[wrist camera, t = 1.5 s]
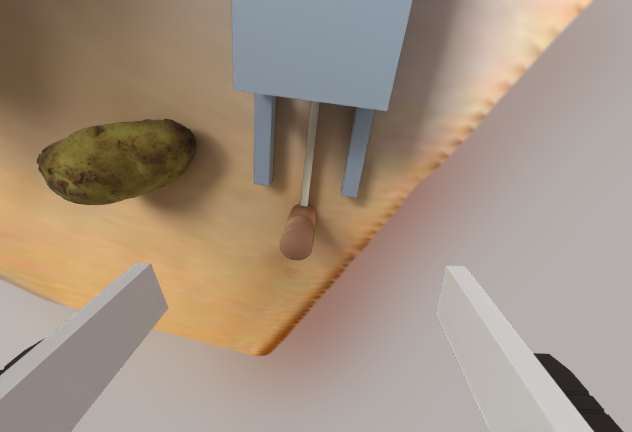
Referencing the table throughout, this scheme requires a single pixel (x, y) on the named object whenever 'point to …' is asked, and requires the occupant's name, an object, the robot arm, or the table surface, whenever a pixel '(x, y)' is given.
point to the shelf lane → (317, 65)
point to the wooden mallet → (303, 204)
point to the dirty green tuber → (117, 160)
